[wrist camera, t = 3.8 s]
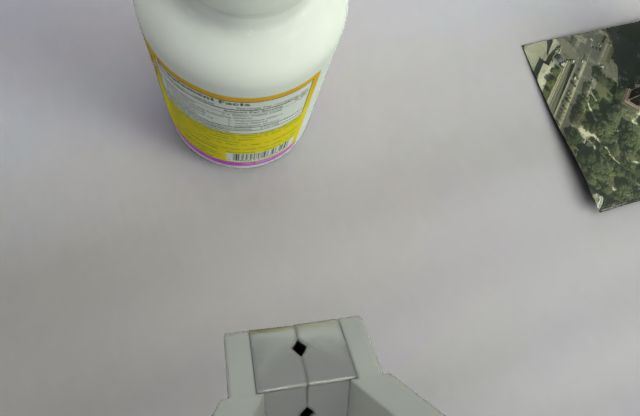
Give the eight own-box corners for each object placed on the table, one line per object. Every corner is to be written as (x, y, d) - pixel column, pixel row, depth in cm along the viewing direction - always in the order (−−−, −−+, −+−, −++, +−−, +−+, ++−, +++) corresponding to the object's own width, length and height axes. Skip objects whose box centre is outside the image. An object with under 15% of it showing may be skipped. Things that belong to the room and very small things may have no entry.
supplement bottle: (218, 19, 25) (205, -263, 13) (331, 89, 26) (425, -122, 13) (140, 125, 24) (38, -82, 11) (263, 199, 24) (296, 77, 11)
